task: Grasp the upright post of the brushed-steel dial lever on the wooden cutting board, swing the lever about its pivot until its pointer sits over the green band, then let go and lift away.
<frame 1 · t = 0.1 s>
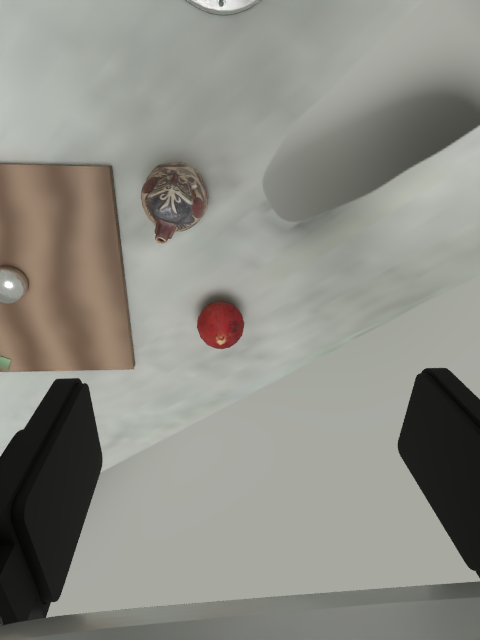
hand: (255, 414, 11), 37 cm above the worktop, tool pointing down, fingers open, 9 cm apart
onion: (219, 312, 50), on the worktop
tan brown ceramic jug: (177, 195, 43), on the worktop
wooden cutting board: (16, 277, 45), on the worktop
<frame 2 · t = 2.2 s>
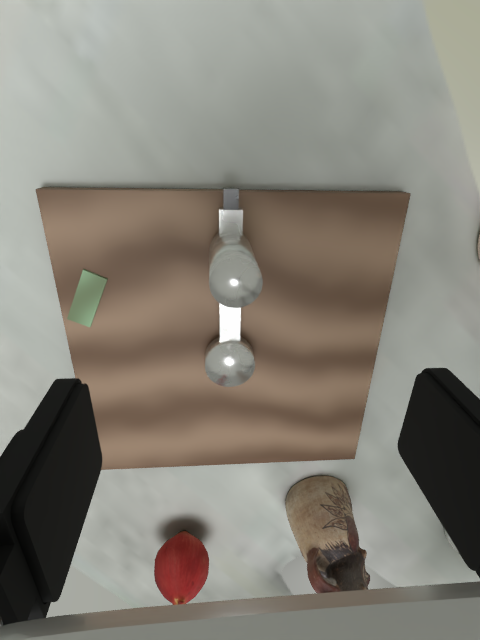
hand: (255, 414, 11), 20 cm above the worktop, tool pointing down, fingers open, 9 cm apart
onion: (184, 531, 43), on the worktop
tan brown ceramic jug: (314, 495, 42), on the worktop
dial lever: (232, 311, 25), point 5 cm above the worktop, hinge at 0.0°
wooden cutting board: (228, 345, 32), on the worktop
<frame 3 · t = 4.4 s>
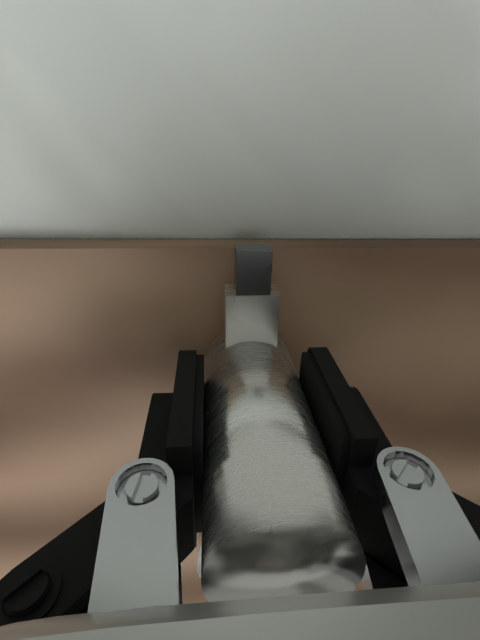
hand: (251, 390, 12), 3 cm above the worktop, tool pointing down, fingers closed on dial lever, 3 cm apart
dial lever: (255, 519, 11), point 5 cm above the worktop, hinge at 0.0°, touching gripper
wooden cutting board: (238, 497, 18), on the worktop
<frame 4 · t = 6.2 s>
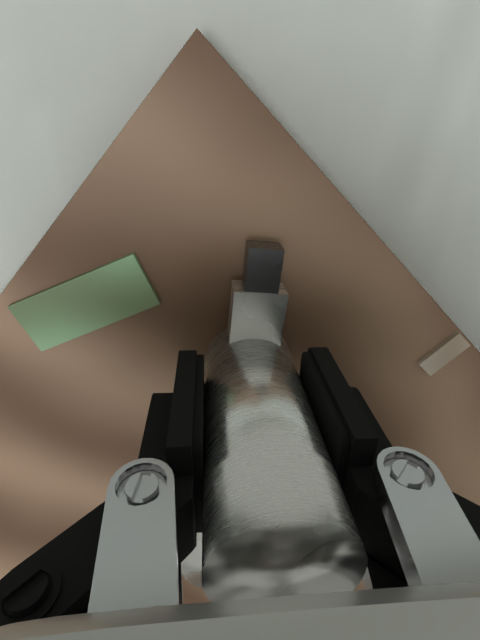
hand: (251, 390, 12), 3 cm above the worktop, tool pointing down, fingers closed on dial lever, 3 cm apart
dial lever: (247, 517, 11), point 5 cm above the worktop, hinge at 38.3°, touching gripper
wooden cutting board: (225, 495, 18), on the worktop
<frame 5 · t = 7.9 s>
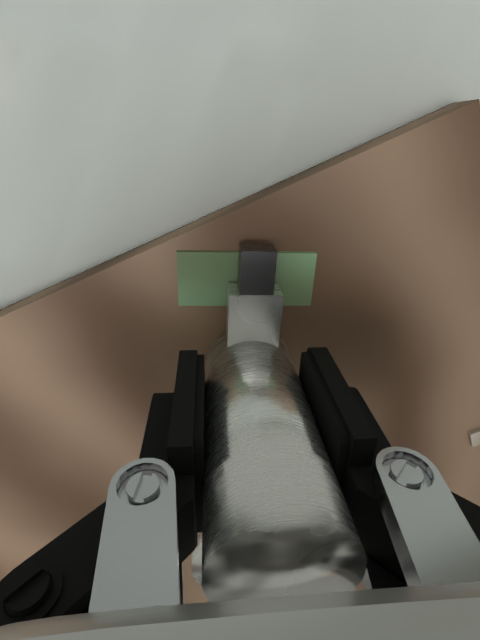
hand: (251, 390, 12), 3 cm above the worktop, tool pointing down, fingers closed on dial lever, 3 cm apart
dial lever: (252, 519, 11), point 5 cm above the worktop, hinge at 64.2°, touching gripper
wooden cutting board: (234, 497, 18), on the worktop
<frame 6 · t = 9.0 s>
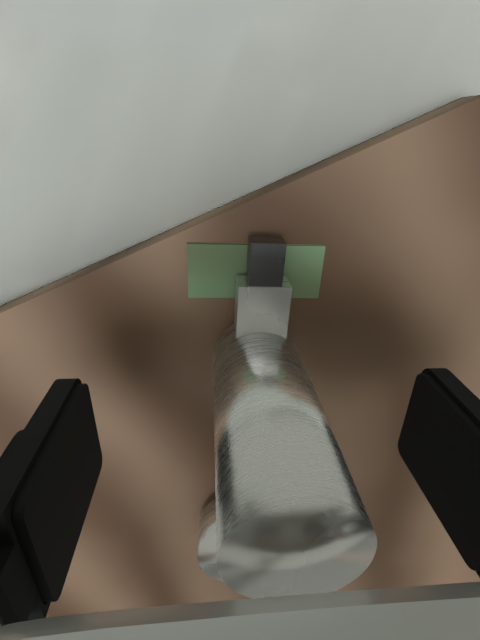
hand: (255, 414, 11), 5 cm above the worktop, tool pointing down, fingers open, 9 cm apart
dial lever: (260, 507, 11), point 5 cm above the worktop, hinge at 64.3°
wooden cutting board: (239, 489, 19), on the worktop
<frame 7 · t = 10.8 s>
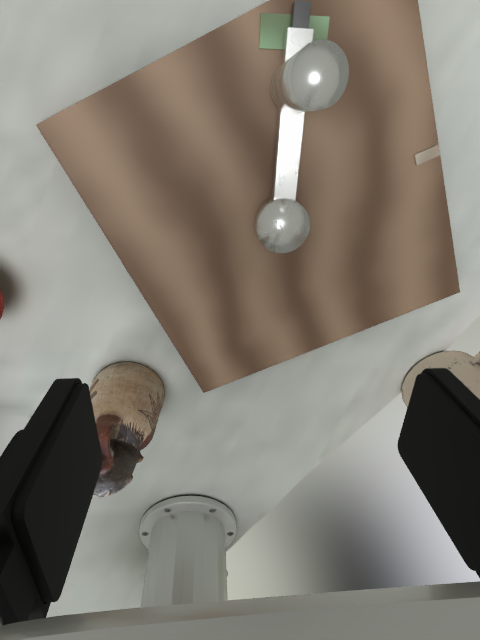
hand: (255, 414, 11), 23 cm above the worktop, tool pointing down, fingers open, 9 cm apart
teacup with lid: (444, 370, 40), on the worktop
tan brown ceramic jug: (129, 387, 38), on the worktop
dial lever: (297, 145, 23), point 5 cm above the worktop, hinge at 64.3°
wooden cutting board: (276, 217, 30), on the worktop
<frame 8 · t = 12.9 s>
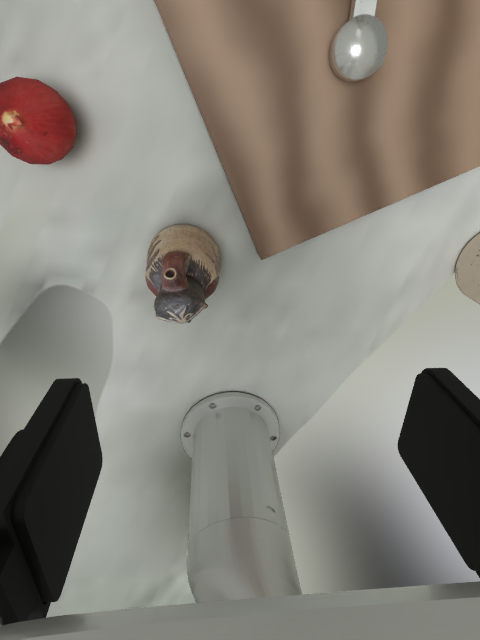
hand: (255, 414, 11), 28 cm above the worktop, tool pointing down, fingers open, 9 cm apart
onion: (52, 124, 31), on the worktop
tan brown ceramic jug: (185, 257, 37), on the worktop
wooden cutting board: (346, 56, 31), on the worktop
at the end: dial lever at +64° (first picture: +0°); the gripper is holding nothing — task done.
